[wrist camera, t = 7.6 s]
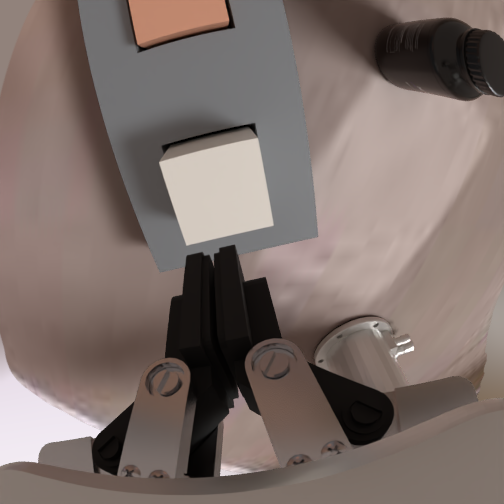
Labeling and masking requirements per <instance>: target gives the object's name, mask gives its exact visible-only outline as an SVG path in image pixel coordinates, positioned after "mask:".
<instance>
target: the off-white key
mask: <svg viewBox="0 0 504 504" xmlns="http://www.w3.org/2000/svg"><path fill="white" fill-rule="evenodd" d="M159 164H160V167H161V170H162V173H163V177H164V180H165V183H166V186H167V189H168V192H169V196H170V199H171V202H172V205H173V208H174V211H175V214H176V217H177V220H178V223H179V226H180V228H181V231H182V234H183V237H184V240H185V243H186V246H187V245H191V244H196V243H200V242H204V241H208V240H213V239H217V238H221V237H226V236H230V235H234V234H239V233H243V232H248V231H252V230H256V229H261V228H265V227H270V226H274V224H273V218H272V212H271V206H270V201H269V195H268V189H267V184H266V178H265V173H264V167H263V162H262V157H261V151H260V146H259V141H258V137H257V136H256V135H255V134H254V132H253V131H252V130H251V129H250V128H249V126H248V127H243V128H238V129H234V130H229V131H225V132H220V133H216V134H212V135H208V136H203V137H200V138H196V139H192V140H188V141H184V142H181V143H177V144H173V145H170V147H169V148H168V150H167V151H166V153H165V154H164V155H163V157H162V158H161V160H160V161H159Z"/></svg>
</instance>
